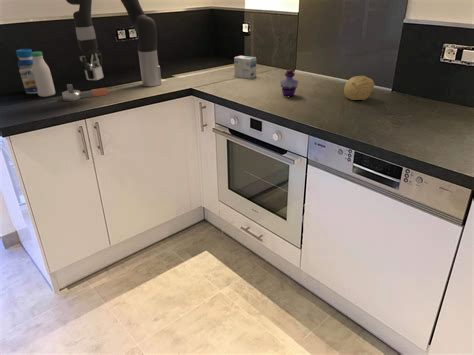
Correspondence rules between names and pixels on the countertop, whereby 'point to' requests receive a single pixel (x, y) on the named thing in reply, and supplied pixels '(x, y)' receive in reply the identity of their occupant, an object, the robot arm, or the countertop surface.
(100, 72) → the socket
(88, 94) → the ratchet
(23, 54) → the beverage bottle
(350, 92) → the tan lumpy round lump
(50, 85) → the milk bottle
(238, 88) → the countertop surface
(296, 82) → the potion bottle
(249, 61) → the light bulb box
